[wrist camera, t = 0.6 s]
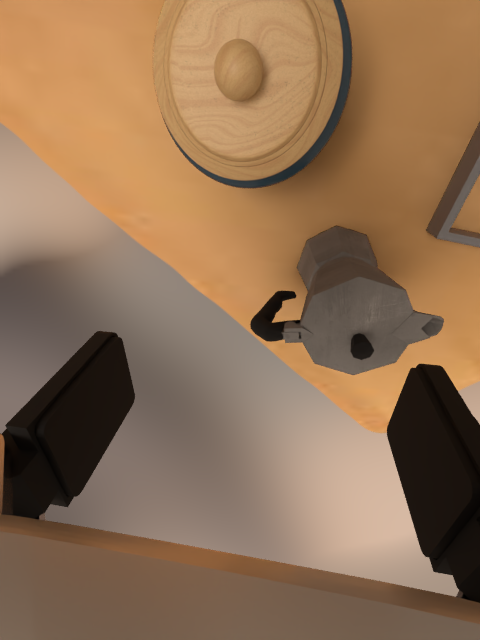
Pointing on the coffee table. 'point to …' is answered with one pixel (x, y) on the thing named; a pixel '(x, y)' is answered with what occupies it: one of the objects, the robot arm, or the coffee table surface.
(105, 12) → the coffee table surface
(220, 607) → the robot arm
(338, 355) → the coffeepot
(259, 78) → the canister
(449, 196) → the bay
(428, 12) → the coffee table surface
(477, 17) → the coffee table surface
